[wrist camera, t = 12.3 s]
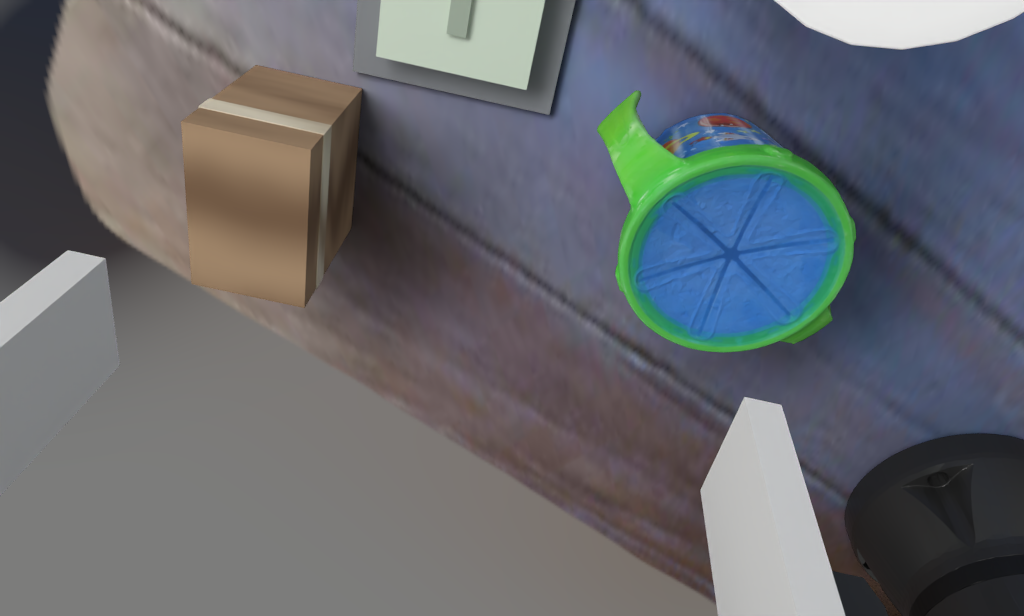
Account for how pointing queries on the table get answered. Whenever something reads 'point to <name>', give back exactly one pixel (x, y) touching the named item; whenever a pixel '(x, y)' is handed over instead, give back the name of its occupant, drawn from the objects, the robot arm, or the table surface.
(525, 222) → the table surface
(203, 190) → the walnut box
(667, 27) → the table surface
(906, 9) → the decorative container
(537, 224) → the table surface
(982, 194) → the table surface
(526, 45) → the lid
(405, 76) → the mat
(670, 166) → the snack cup
